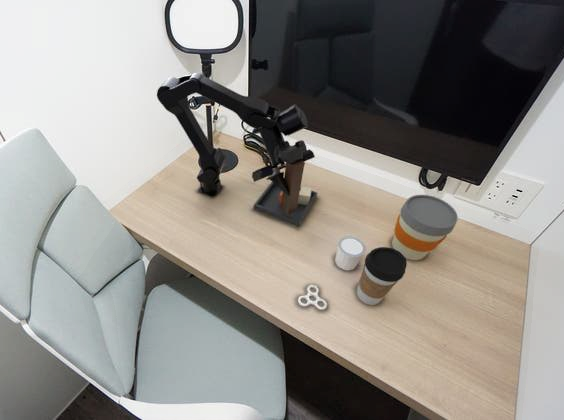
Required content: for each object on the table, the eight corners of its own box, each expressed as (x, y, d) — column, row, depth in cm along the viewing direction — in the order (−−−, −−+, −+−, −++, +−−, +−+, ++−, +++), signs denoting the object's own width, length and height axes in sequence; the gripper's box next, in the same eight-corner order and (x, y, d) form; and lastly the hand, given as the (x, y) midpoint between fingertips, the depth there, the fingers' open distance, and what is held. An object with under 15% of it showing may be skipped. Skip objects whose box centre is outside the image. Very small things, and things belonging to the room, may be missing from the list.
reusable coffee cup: (436, 241, 91) (461, 204, 81) (428, 272, 84) (455, 236, 73) (391, 225, 96) (409, 188, 86) (380, 253, 89) (399, 216, 78)
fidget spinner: (297, 305, 78) (297, 304, 77) (299, 283, 82) (299, 282, 82) (326, 311, 77) (327, 309, 76) (326, 288, 81) (327, 286, 80)
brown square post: (280, 207, 97) (286, 160, 84) (289, 203, 98) (296, 156, 86) (287, 214, 95) (294, 166, 82) (296, 210, 96) (304, 162, 84)
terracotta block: (278, 203, 103) (279, 194, 101) (283, 196, 106) (284, 187, 103) (289, 207, 102) (290, 198, 99) (294, 200, 104) (295, 191, 101)
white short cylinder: (341, 248, 90) (347, 232, 85) (363, 261, 87) (370, 245, 82) (328, 262, 87) (333, 246, 82) (350, 276, 84) (357, 261, 79)
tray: (253, 210, 102) (253, 204, 100) (274, 183, 112) (274, 178, 110) (298, 228, 96) (299, 222, 94) (316, 198, 106) (317, 192, 104)
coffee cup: (391, 309, 77) (415, 275, 66) (356, 309, 77) (374, 275, 66) (380, 280, 83) (400, 244, 72) (347, 280, 83) (363, 244, 72)
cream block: (296, 203, 103) (297, 194, 100) (297, 195, 106) (299, 186, 103) (308, 205, 102) (310, 196, 100) (309, 197, 105) (311, 188, 102)
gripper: (259, 144, 79) (281, 202, 80) (316, 124, 85) (336, 177, 86) (242, 155, 89) (262, 206, 90) (294, 136, 96) (312, 183, 97)
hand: (294, 193), depth 90 cm, fingers closed on brown square post, 3 cm apart
